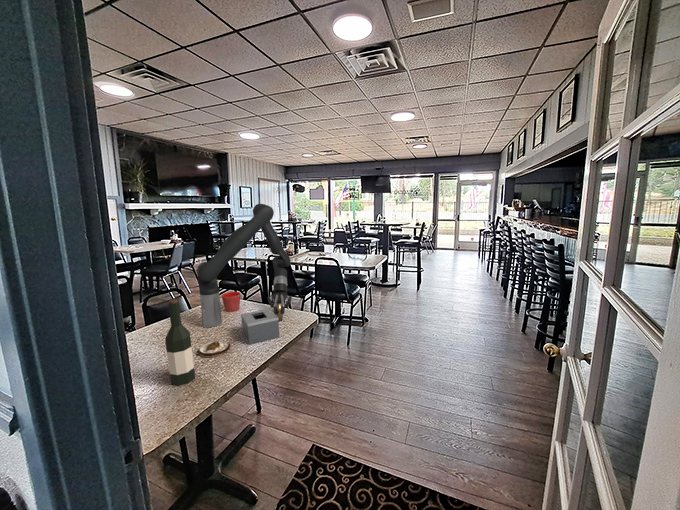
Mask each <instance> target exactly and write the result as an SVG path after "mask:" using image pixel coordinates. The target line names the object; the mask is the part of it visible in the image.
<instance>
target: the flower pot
mask: <svg viewBox="0 0 680 510" xmlns="http://www.w3.org/2000/svg"><path fill="white" fill-rule="evenodd" d="M221 300H222V303H223V307H224V309H225V311H226V312H227V313H233V312H236V311H239V310H240V304H241V292H240V291H230V292H225V293H223V294H222V295H221Z"/></svg>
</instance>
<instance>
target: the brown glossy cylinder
mask: <svg viewBox="0 0 680 510" xmlns="http://www.w3.org/2000/svg"><path fill="white" fill-rule="evenodd" d="M276 311H277V315H276V316H277V317H278V321H279V322H280V321H283V320H284V318H283V317H284V316H283V315H282V303H276Z"/></svg>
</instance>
